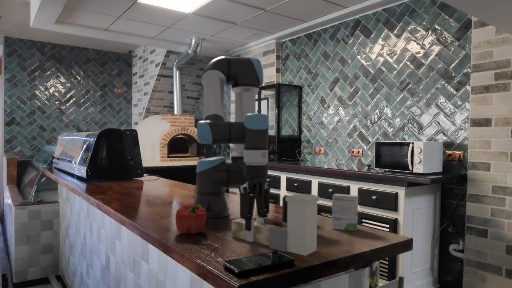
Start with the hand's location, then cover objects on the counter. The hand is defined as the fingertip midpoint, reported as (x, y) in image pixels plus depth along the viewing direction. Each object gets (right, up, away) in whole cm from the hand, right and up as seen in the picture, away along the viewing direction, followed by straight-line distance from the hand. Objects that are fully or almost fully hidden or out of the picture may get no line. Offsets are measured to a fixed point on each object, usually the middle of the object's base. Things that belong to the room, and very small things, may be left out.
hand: (254, 239), depth 112 cm
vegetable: (-21, 0, +6) cm, 22 cm away
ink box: (+32, -1, +16) cm, 35 cm away
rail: (+2, 0, -1) cm, 2 cm away
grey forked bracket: (+11, 0, -9) cm, 14 cm away
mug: (+16, 0, +25) cm, 29 cm away
